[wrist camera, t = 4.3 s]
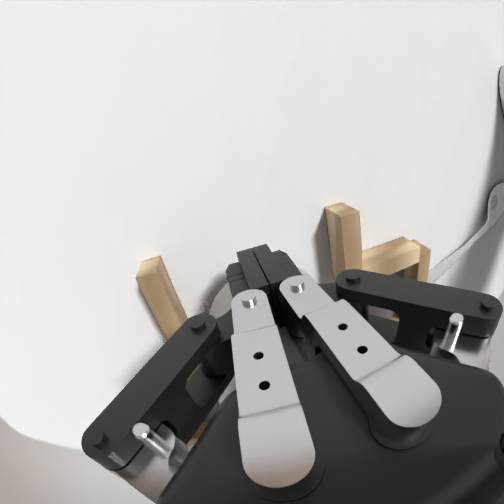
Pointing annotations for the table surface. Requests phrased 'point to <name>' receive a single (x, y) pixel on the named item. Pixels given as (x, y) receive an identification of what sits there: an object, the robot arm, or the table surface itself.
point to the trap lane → (343, 258)
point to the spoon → (500, 190)
